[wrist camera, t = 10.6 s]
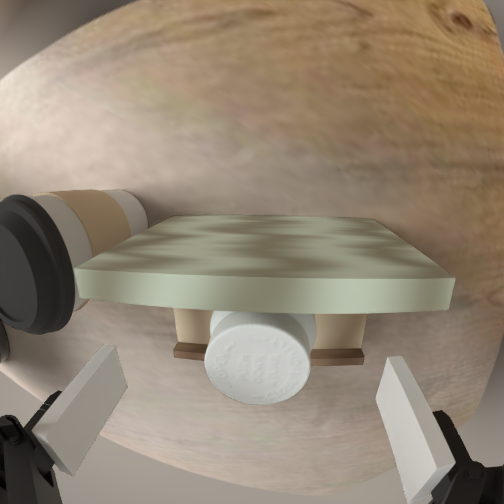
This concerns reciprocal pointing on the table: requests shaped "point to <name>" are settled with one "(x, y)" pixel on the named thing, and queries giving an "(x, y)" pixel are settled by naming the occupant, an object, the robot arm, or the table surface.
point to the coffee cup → (57, 250)
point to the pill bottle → (260, 354)
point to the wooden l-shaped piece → (269, 276)
